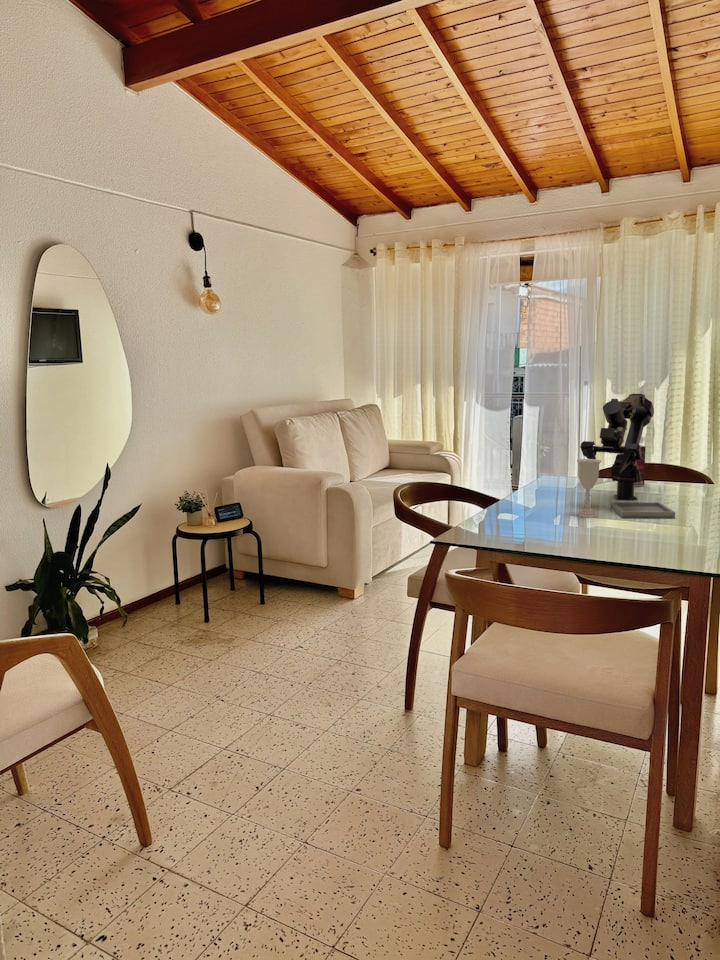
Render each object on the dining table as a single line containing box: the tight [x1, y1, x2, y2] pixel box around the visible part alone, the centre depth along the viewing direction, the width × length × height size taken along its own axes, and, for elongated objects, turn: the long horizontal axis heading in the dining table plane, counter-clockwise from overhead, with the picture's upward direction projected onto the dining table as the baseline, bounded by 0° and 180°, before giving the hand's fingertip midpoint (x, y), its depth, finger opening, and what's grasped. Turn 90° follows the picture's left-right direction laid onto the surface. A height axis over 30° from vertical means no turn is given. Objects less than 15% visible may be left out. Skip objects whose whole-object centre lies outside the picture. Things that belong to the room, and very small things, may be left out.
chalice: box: [576, 458, 602, 518], centre depth 218 cm, size 7×7×18 cm
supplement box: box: [621, 444, 646, 488], centre depth 264 cm, size 9×5×16 cm, turn 98°
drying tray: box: [609, 501, 676, 519], centre depth 221 cm, size 15×16×2 cm
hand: (604, 471), depth 221 cm, fingers open, 9 cm apart
